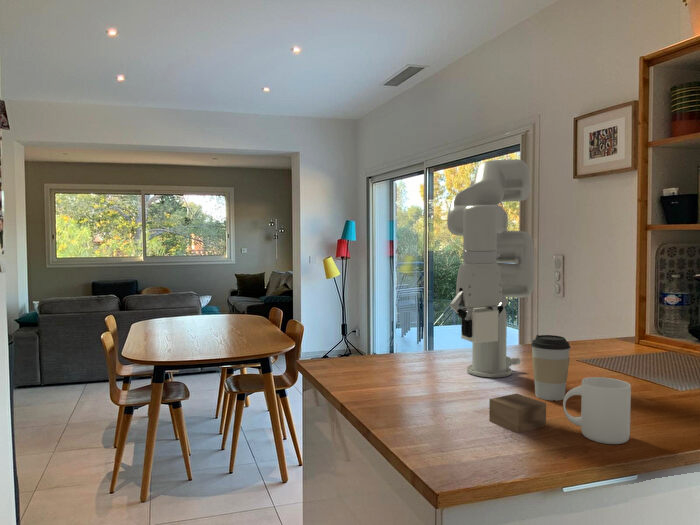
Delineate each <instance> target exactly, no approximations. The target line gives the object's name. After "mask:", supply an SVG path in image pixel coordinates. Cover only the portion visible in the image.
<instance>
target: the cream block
mask: <svg viewBox="0 0 700 525" xmlns="http://www.w3.org/2000/svg"><path fill="white" fill-rule="evenodd" d="M466 311H467V310H466ZM460 320H461V321H460V322H461V325H460V326H461V332H460V333H461V334H460V335H461V339H463V340H465V341H468V342H472V344H473V343H484V342H493V341H498V311H496V310H492V309H487V308H484V307H482V308H473V311H472V314H471V317H470V320H472V337H470V338H469V337H466V336H463V335H462V319H460Z"/></svg>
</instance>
